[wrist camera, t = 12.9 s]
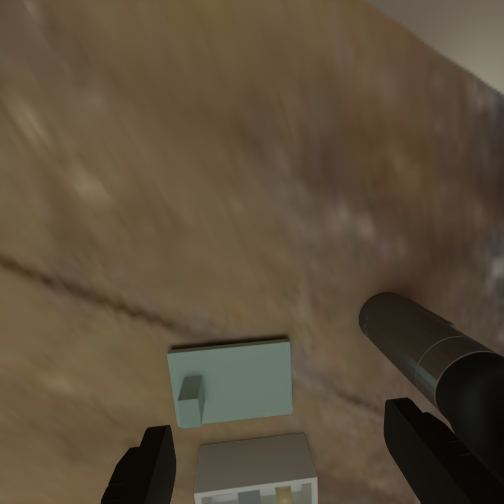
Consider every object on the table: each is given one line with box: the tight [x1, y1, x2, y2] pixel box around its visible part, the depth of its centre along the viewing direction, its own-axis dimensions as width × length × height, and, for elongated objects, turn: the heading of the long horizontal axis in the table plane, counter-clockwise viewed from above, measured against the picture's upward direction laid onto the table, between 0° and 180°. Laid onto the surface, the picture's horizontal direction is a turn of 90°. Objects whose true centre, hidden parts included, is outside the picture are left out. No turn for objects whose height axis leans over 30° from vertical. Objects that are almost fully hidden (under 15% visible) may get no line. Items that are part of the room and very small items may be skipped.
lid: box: [167, 339, 293, 429], centre depth 42 cm, size 20×14×8 cm
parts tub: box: [194, 433, 318, 504], centre depth 46 cm, size 20×14×8 cm
